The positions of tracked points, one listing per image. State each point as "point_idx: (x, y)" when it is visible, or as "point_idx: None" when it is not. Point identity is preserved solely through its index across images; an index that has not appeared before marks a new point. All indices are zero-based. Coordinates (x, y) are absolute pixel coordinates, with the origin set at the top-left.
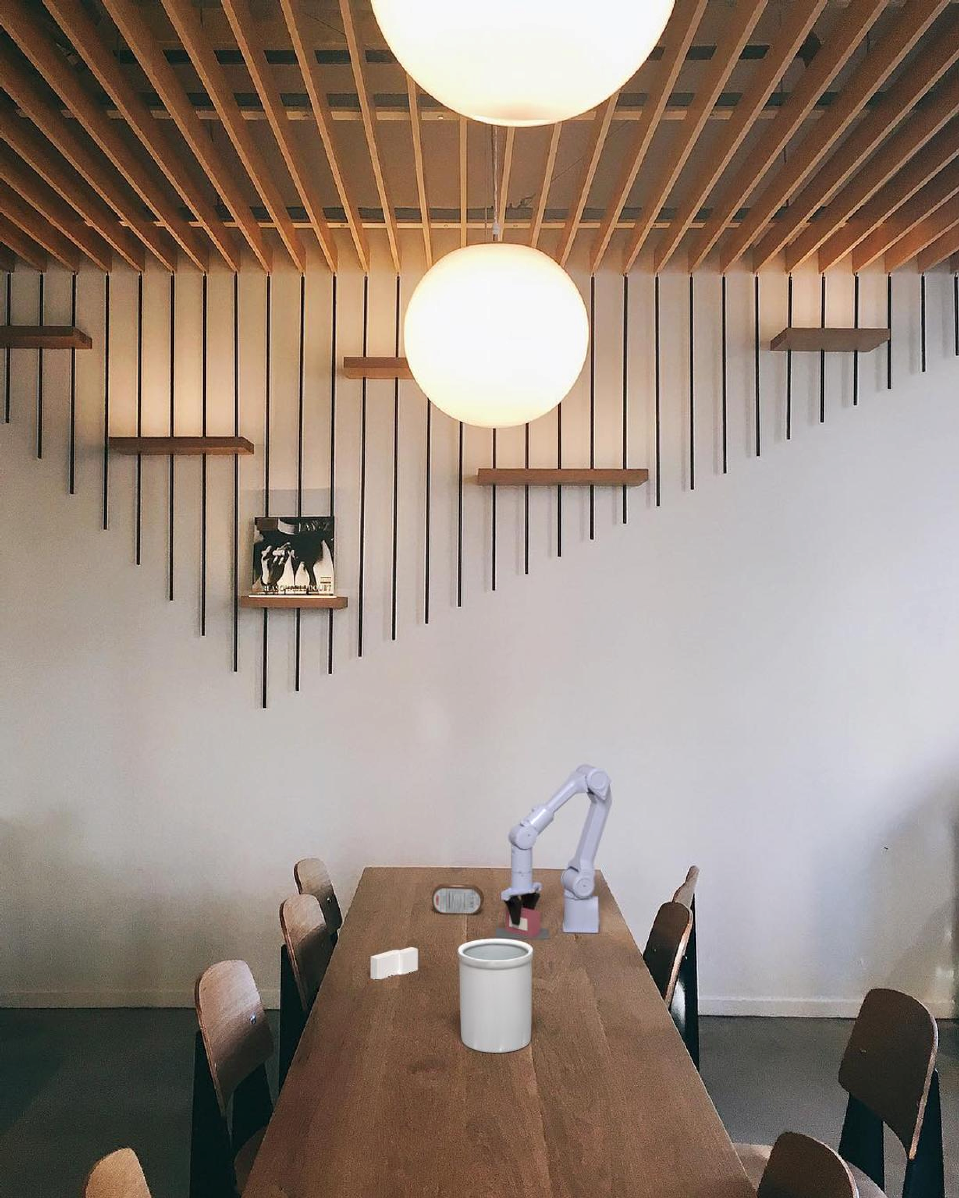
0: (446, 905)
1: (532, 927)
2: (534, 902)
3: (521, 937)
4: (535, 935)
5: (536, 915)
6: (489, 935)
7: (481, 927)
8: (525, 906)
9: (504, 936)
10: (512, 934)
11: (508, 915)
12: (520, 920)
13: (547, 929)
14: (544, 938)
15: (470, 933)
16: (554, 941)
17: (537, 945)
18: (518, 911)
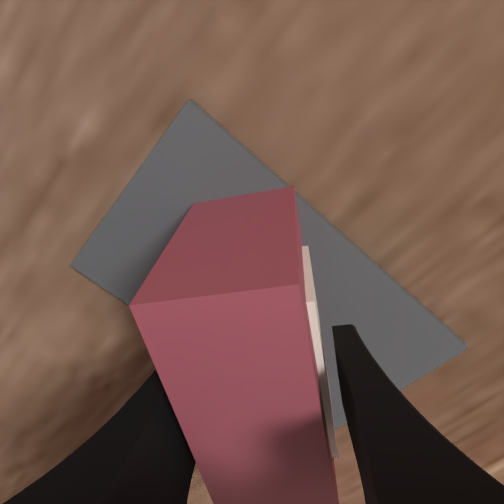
0: None
1: (283, 216)
2: (97, 470)
3: (346, 237)
4: (247, 194)
5: (204, 278)
6: (442, 385)
7: (360, 476)
8: (176, 478)
9: (422, 314)
10: (347, 314)
11: (332, 458)
12: (322, 347)
13: (80, 257)
14: (212, 119)
15: (485, 453)
16: (177, 10)
17: (381, 9)
18: (405, 411)
